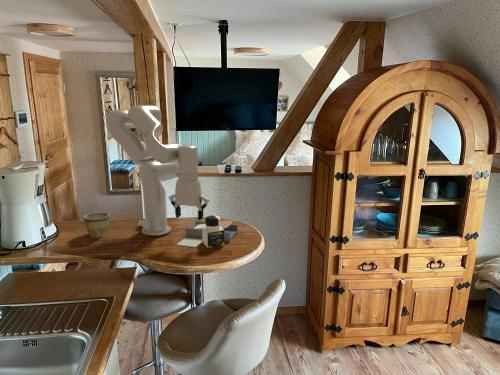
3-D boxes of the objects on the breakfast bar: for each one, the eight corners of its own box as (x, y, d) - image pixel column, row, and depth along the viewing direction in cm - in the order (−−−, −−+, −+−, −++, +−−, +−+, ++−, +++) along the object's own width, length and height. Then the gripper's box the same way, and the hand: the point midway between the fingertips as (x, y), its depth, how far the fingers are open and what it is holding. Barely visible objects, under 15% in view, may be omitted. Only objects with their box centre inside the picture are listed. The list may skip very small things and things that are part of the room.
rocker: (192, 231, 160) (192, 228, 160) (198, 227, 167) (198, 224, 166) (226, 227, 156) (226, 224, 155) (231, 223, 162) (231, 220, 162)
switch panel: (185, 237, 159) (185, 226, 158) (196, 228, 170) (196, 218, 169) (229, 241, 154) (229, 230, 153) (238, 232, 165) (237, 222, 164)
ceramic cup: (102, 243, 152) (100, 219, 149) (80, 241, 154) (78, 218, 151) (119, 232, 164) (117, 211, 162) (99, 231, 166) (97, 209, 164)
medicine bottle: (207, 248, 147) (207, 220, 145) (202, 243, 153) (201, 215, 151) (224, 246, 150) (224, 217, 148) (218, 240, 156) (218, 213, 154)
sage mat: (176, 245, 150) (176, 244, 149) (185, 238, 158) (185, 237, 157) (195, 247, 147) (195, 246, 147) (204, 240, 155) (204, 239, 155)
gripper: (164, 177, 145) (165, 218, 149) (204, 180, 141) (205, 223, 144) (173, 173, 152) (174, 213, 156) (212, 176, 148) (212, 217, 152)
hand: (189, 218), depth 150 cm, fingers open, 9 cm apart
